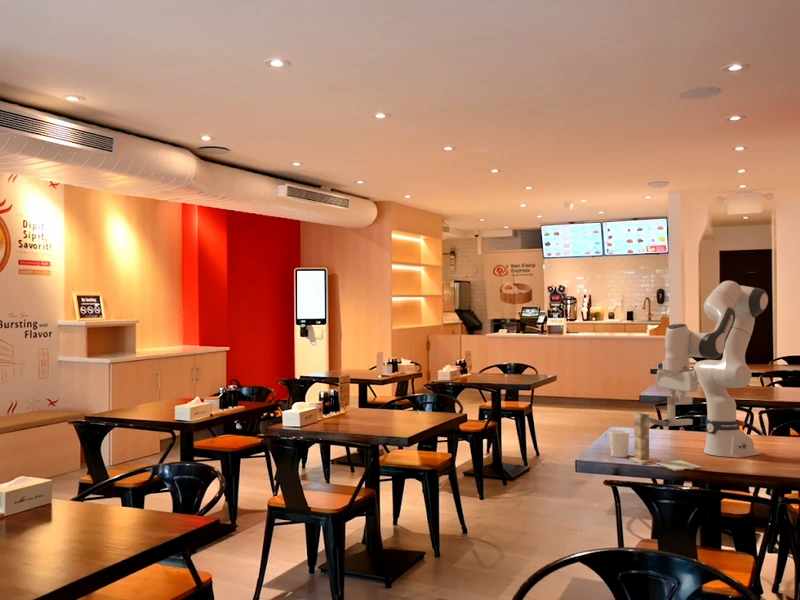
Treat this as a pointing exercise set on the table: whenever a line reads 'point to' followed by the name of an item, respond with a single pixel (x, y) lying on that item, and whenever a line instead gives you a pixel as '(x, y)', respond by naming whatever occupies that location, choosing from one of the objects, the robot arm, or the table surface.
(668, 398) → the c link
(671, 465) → the mat
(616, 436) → the white cup
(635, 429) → the stand
